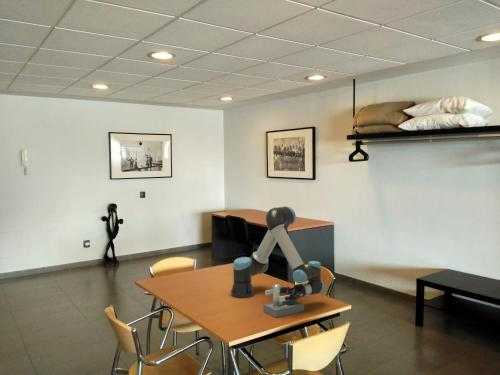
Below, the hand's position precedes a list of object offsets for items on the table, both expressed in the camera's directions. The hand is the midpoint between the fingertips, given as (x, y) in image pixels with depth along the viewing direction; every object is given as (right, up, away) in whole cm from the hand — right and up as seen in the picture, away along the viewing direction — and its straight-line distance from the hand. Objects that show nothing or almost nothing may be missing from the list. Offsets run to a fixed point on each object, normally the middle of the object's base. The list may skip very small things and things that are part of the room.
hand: (272, 296), depth 224 cm
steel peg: (+2, -10, +2) cm, 10 cm away
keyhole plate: (+6, -10, +4) cm, 12 cm away
